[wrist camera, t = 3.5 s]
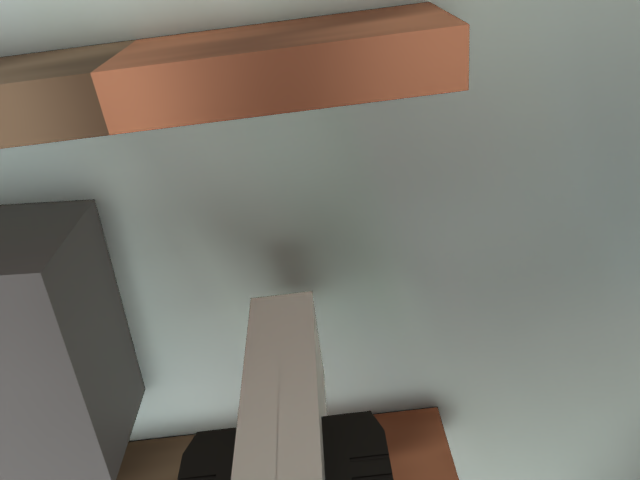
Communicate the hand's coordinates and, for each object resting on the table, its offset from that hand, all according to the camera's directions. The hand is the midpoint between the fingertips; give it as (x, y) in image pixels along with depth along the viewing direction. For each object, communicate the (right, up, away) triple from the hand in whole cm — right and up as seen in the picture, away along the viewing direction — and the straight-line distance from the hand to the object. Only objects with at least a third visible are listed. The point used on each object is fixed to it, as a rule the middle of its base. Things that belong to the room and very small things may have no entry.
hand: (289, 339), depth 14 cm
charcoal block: (-9, 0, +3) cm, 9 cm away
